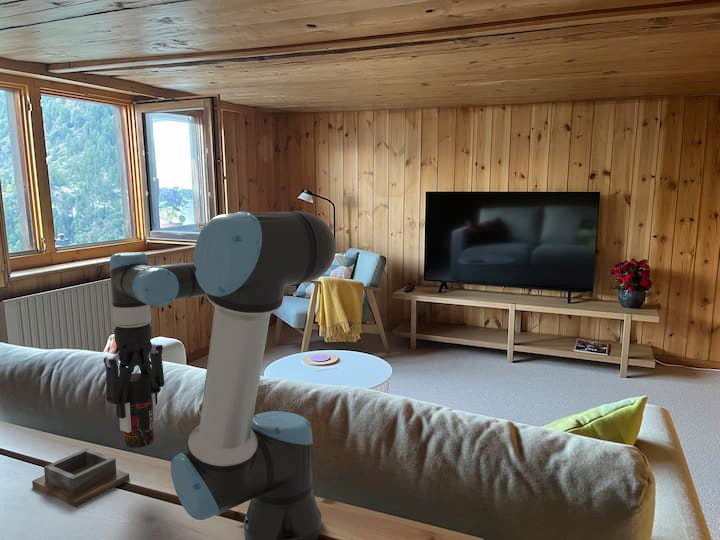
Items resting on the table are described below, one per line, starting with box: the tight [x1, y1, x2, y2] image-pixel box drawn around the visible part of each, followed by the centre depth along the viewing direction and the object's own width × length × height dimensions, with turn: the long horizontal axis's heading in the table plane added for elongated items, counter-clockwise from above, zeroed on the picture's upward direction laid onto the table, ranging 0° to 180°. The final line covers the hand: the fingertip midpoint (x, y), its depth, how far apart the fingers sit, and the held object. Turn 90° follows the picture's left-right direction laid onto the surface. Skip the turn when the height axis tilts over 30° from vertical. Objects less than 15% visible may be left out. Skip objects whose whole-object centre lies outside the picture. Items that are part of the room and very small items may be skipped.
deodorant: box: [124, 372, 155, 449], centre depth 121 cm, size 6×6×15 cm
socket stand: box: [31, 447, 131, 508], centre depth 124 cm, size 16×13×5 cm
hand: (138, 425), depth 122 cm, fingers closed on deodorant, 6 cm apart
